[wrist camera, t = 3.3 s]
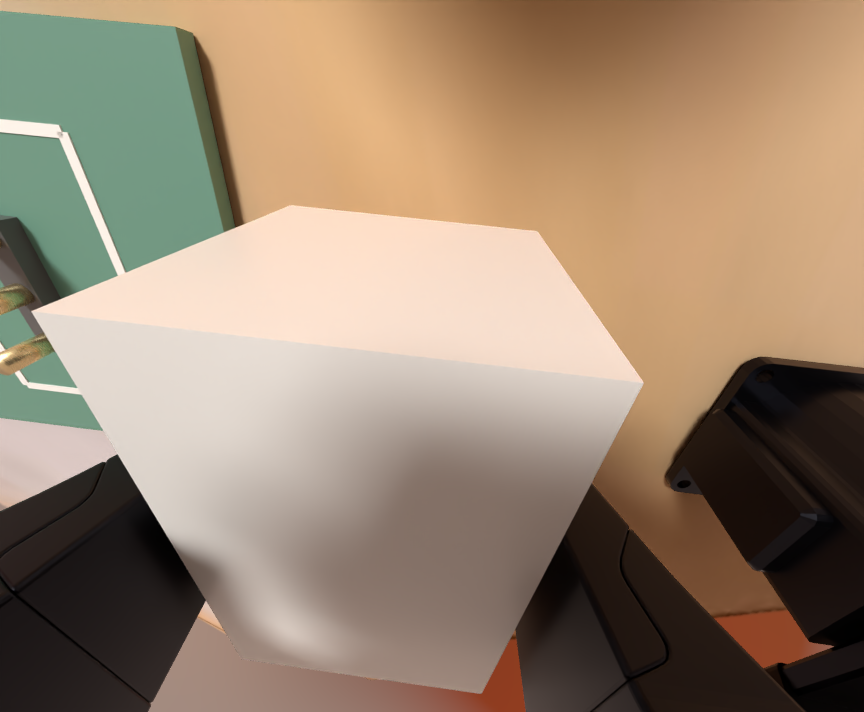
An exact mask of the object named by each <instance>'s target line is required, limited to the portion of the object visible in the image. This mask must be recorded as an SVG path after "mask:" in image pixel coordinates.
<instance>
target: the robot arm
mask: <svg viewBox="0 0 864 712" xmlns="http://www.w3.org/2000/svg"><path fill="white" fill-rule="evenodd" d="M762 371H763V372H762ZM760 372H762V373H760ZM759 373H760V374H759ZM666 480H667V482H668V484H669V485H670V487H671V489H673V490H674V491H677V492H684V493H692V494H700V495H703V496H704V497H705V499H706V500H707V502H708V503H709V505H710V506H711V508H712V510H713V511H714V513H715V514H716V516H717V517H718V519H719V520H720V522H721V523H722V525H723V526H724V528H725V530H726V531H727V533H728V534H729V536H730V537H731V539H732V540H733V542H734V543H735V545H736V547H737V548H738V550H739V551H740V553H741V554H742V556H743V557H744V559H745V560H746V562H747V563H748V565H749V566H750V567H751V568H752V569H754V570H756V571H761V572H763V573H764V575H765V576H766V578H767V579H768V581H769V582H770V584H771V585H772V587H773V588H774V590H775V591H776V593H777V594H778V596H779V597H780V599H781V600H782V602H783V603H784V605H785V606H786V608H787V609H788V611H789V612H790V614H791V615H792V617H793V618H794V620H795V621H796V623H797V624H798V626H799V627H800V628H801V630H802V632H803V633H804V635H805V636H806V638H807V639H808V641H809V642H812V643H818V644H826V645H832V646H834V647H832V648H830V649H827V650H825V651H822V652H819V653H816V654H814V655H811V656H809V657H806V658H803V659H800V660H798V661H795V662H792V663H790V664H784V663H776V664H774V665H771V666H768V667H766V668H764V669H763V668H762V667H761V666H760V665H759V664H758V663H757V662H756V661H755V660H754V659H753V658H752V657H751V656H750V655H749V654H748V653H747V652H746V651H745V650H744V649H743V648H742V647H741V646H740V645H739V644H738V643H737V642H736V641H735V640H734V638H733V637H732V636H731V635H729V633H728V632H727V631H726V630H724V628H723V627H722V626H721V625H720V624H719V623H718V622H717V621H716V620H715V619H714V618H713V617H712V616H711V615H710V614H709V613H708V612H707V611H706V610H705V609H704V608H703V607H702V606H701V605H700V604H699V603H698V602H697V601H696V600H695V599H694V598H693V597H692V596H691V595H690V593H689V592H688V591H687V590H686V589H685V588H684V587H683V586H682V585H681V584H680V583H679V582H678V581H677V580H676V579H675V578H674V577H673V576H672V575H671V573H670V572H669V571H668V570H667V569H666V568H665V567H664V566H663V564H662V563H661V562H660V561H659V560H658V559H657V558H656V557H655V556H654V554H653V553H652V552H651V551H650V550H649V549H648V548H647V547H646V545H645V544H644V543H643V542H642V541H641V540H640V538H639V537H638V536H637V535H636V534H635V533H634V531H633V530H628V529H629V526H628V525H627V524H626V522H625V521H624V520H623V519H622V518H621V517H620V515H619V514H618V513H617V512H616V511H615V510H614V508H613V507H612V506H611V505H610V504H609V503H608V501H607V500H606V499H605V498H604V497H603V496H602V494H601V493H600V492H599V491H598V490H597V489H596V487H595V486H594V485H593V484H592V483H591V485H590V487H589V489H588V491H587V493H586V495H585V496H584V498H583V500H582V502H581V504H580V506H579V508H578V510H577V512H576V514H575V516H574V518H573V519H572V521H571V523H570V525H569V527H568V529H567V531H566V533H565V535H564V537H563V539H562V540H561V542H560V544H559V546H558V548H557V550H556V552H555V554H554V556H553V558H552V560H551V562H550V563H549V565H548V567H547V569H546V571H545V573H544V575H543V577H542V579H541V581H540V583H539V585H538V586H537V588H536V590H535V592H534V594H533V596H532V598H531V600H530V602H529V604H528V606H527V608H526V609H525V611H524V613H523V615H522V617H521V619H520V621H519V623H518V625H517V627H516V629H515V630H516V638H517V645H518V653H519V661H520V669H521V676H522V685H523V692H524V700H525V708H526V712H864V368H859V367H851V366H842V365H833V364H824V363H815V362H807V361H798V360H789V359H780V358H771V357H757V358H754V359H751V360H750V361H748V362H746V363H745V364H744V365H743V366H742V367H741V368H740V370H739V371H738V373H737V374H736V376H735V377H734V378H733V380H732V381H731V383H730V384H729V386H728V387H727V388H726V390H725V391H724V393H723V394H722V396H721V397H720V399H719V400H718V401H717V403H716V404H715V406H714V407H713V409H712V410H711V412H710V413H709V414H708V416H707V417H706V419H705V420H704V422H703V423H702V425H701V426H700V427H699V429H698V430H697V432H696V433H695V435H694V436H693V438H692V439H691V440H690V442H689V443H688V445H687V446H686V448H685V449H684V451H683V452H682V453H681V455H680V456H679V458H678V459H677V461H676V462H675V464H674V465H673V466H672V468H671V469H670V471H669V472H668V474H667V476H666ZM205 601H206V600H205V598H204V596H203V595H202V593H201V591H200V590H199V588H198V586H197V585H196V583H195V581H194V580H193V578H192V576H191V575H190V573H189V571H188V570H187V568H186V566H185V565H184V563H183V561H182V560H181V558H180V557H179V555H178V553H177V552H176V550H175V548H174V547H173V545H172V543H171V542H170V540H169V538H168V537H167V535H166V533H165V532H164V530H163V528H162V527H161V525H160V523H159V522H158V520H157V519H156V517H155V515H154V514H153V512H152V510H151V509H150V507H149V505H148V504H147V502H146V500H145V499H144V497H143V495H142V494H141V492H140V490H139V489H138V487H137V485H136V484H135V482H134V480H133V479H132V477H131V476H130V474H129V472H128V471H127V469H126V467H125V466H124V464H123V462H122V461H121V459H120V457H119V456H118V454H117V455H115V456H113V457H111V458H109V459H108V460H107V462H101V463H99V464H97V465H95V466H93V467H92V468H90V469H88V470H86V471H84V472H82V473H80V474H78V475H76V476H74V477H72V478H70V479H68V480H65V481H63V482H61V483H59V484H57V485H55V486H53V487H51V488H49V489H47V490H45V491H43V492H41V493H39V494H37V495H35V496H32V497H30V498H28V499H26V500H24V501H22V502H19V503H17V504H15V505H13V506H11V507H9V508H6V509H4V510H2V511H0V712H148V711H149V709H150V707H151V702H153V700H154V698H155V697H156V695H157V693H158V691H159V689H160V687H161V685H162V683H163V681H164V679H165V677H166V676H167V674H168V672H169V670H170V668H171V666H172V664H173V662H174V660H175V658H176V656H177V655H178V653H179V651H180V649H181V647H182V645H183V643H184V641H185V639H186V637H187V635H188V634H189V632H190V630H191V628H192V626H193V624H194V622H195V620H196V618H197V616H198V614H199V613H200V611H201V609H202V607H203V605H204V603H205Z"/></svg>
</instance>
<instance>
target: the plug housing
mask: <svg viewBox="0 0 864 712" xmlns="http://www.w3.org/2000/svg"><path fill="white" fill-rule="evenodd" d="M31 312H32V314H33V315H34V317H35V318H36V320H37V322H38V323H39V325H40V327H41V328H42V330H43V332H44V333H45V335H46V337H47V338H48V340H49V342H50V343H51V345H52V347H53V348H54V350H55V352H56V353H57V355H58V356H59V358H60V360H61V361H62V363H63V365H64V366H65V368H66V370H67V371H68V373H69V375H70V376H71V378H72V380H73V381H74V383H75V385H76V386H77V388H78V390H79V391H80V393H81V395H82V396H83V398H84V399H85V401H86V403H87V404H88V406H89V408H90V409H91V411H92V413H93V414H94V416H95V418H96V419H97V421H98V423H99V424H100V426H101V428H102V429H103V431H104V433H105V434H106V436H107V437H108V439H109V441H110V442H111V444H112V446H113V447H114V449H115V451H116V452H117V454H118V456H119V457H120V459H121V461H122V462H123V464H124V466H125V467H126V469H127V471H128V472H129V474H130V476H131V477H132V479H133V480H134V482H135V484H136V485H137V487H138V489H139V490H140V492H141V494H142V495H143V497H144V499H145V500H146V502H147V504H148V505H149V507H150V509H151V510H152V512H153V514H154V515H155V517H156V519H157V520H158V522H159V523H160V525H161V527H162V528H163V530H164V532H165V533H166V535H167V537H168V538H169V540H170V542H171V543H172V545H173V547H174V548H175V550H176V552H177V553H178V555H179V557H180V558H181V560H182V561H183V563H184V565H185V566H186V568H187V570H188V571H189V573H190V575H191V576H192V578H193V580H194V581H195V583H196V585H197V586H198V588H199V590H200V591H201V593H202V595H203V596H204V598H205V600H206V601H207V603H208V604H209V606H210V608H211V609H212V611H213V613H214V614H215V616H216V618H217V619H218V621H219V623H220V624H221V626H222V628H223V629H224V631H225V633H226V634H227V636H228V637H229V639H230V641H231V642H232V644H233V645H234V647H235V649H236V651H237V652H238V654H239V656H240V657H241V659H243V660H250V661H258V662H264V663H271V664H278V665H285V666H292V667H298V668H305V669H312V670H319V671H326V672H333V673H340V674H347V675H355V676H361V677H365V678H366V679H369V680H377V679H382V680H389V681H395V682H402V683H409V684H416V685H424V686H430V687H438V688H444V689H451V690H458V691H465V692H472V693H479V694H481V693H482V692H483V690H484V688H485V686H486V684H487V682H488V680H489V678H490V676H491V674H492V673H493V671H494V668H495V667H496V665H497V663H498V661H499V659H500V657H501V655H502V653H503V651H504V650H505V648H506V646H507V644H508V642H509V640H510V638H511V636H512V634H513V632H514V631H515V629H516V627H517V625H518V623H519V621H520V619H521V617H522V615H523V613H524V611H525V609H526V608H527V606H528V604H529V602H530V600H531V598H532V596H533V594H534V592H535V590H536V588H537V586H538V585H539V583H540V581H541V579H542V577H543V575H544V573H545V571H546V569H547V567H548V565H549V563H550V562H551V560H552V558H553V556H554V554H555V552H556V550H557V548H558V546H559V544H560V542H561V540H562V539H563V537H564V535H565V533H566V531H567V529H568V527H569V525H570V523H571V521H572V519H573V518H574V516H575V514H576V512H577V510H578V508H579V506H580V504H581V502H582V500H583V498H584V496H585V495H586V493H587V491H588V489H589V487H590V485H591V483H592V481H593V479H594V477H595V475H596V473H597V472H598V470H599V468H600V466H601V464H602V462H603V460H604V458H605V456H606V454H607V452H608V450H609V449H610V447H611V445H612V443H613V441H614V439H615V437H616V435H617V433H618V431H619V429H620V427H621V426H622V424H623V422H624V420H625V418H626V416H627V414H628V412H629V410H630V408H631V406H632V405H633V403H634V401H635V399H636V397H637V395H638V393H639V391H640V389H641V387H642V385H643V383H644V382H643V381H642V380H641V378H640V377H639V375H638V374H637V372H636V371H635V370H634V368H633V367H632V365H631V364H630V362H629V361H628V360H627V358H626V357H625V355H624V354H623V352H622V351H621V350H620V348H619V347H618V345H617V344H616V343H615V341H614V340H613V338H612V337H611V335H610V334H609V333H608V331H607V330H606V328H605V327H604V325H603V324H602V323H601V321H600V320H599V318H598V317H597V315H596V314H595V313H594V311H593V310H592V308H591V307H590V306H589V304H588V303H587V301H586V300H585V298H584V297H583V296H582V294H581V293H580V291H579V290H578V288H577V287H576V286H575V284H574V283H573V281H572V280H571V278H570V277H569V276H568V274H567V273H566V271H565V270H564V269H563V267H562V266H561V264H560V263H559V261H558V260H557V259H556V257H555V256H554V254H553V253H552V251H551V250H550V249H549V247H548V246H547V244H546V243H545V241H544V240H543V239H542V237H541V236H540V234H539V233H538V231H531V230H521V229H512V228H502V227H493V226H483V225H474V224H464V223H455V222H445V221H436V220H426V219H417V218H407V217H398V216H388V215H379V214H369V213H360V212H350V211H341V210H331V209H322V208H312V207H303V206H293V205H290V206H288V207H285V208H283V209H280V210H278V211H275V212H273V213H270V214H268V215H266V216H263V217H261V218H258V219H256V220H253V221H251V222H248V223H246V224H244V225H241V226H239V227H236V228H234V229H231V230H229V231H226V232H224V233H221V234H219V235H217V236H214V237H212V238H209V239H207V240H204V241H202V242H199V243H197V244H195V245H192V246H190V247H187V248H185V249H182V250H180V251H177V252H175V253H173V254H170V255H168V256H165V257H163V258H160V259H158V260H155V261H153V262H151V263H148V264H146V265H143V266H141V267H138V268H136V269H133V270H131V271H129V272H126V273H124V274H121V275H119V276H116V277H114V278H111V279H109V280H107V281H104V282H102V283H99V284H97V285H94V286H92V287H89V288H87V289H84V290H82V291H80V292H77V293H75V294H72V295H70V296H67V297H65V298H62V299H60V300H58V301H55V302H53V303H50V304H48V305H45V306H43V307H40V308H38V309H36V310H33V311H31Z"/></svg>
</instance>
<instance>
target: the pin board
mask: <svg viewBox="0 0 864 712" xmlns="http://www.w3.org/2000/svg"><path fill="white" fill-rule="evenodd" d="M234 228H235V224H234V219H233V215H232V210H231V205H230V201H229V196H228V192H227V187H226V183H225V178H224V173H223V169H222V164H221V160H220V155H219V151H218V146H217V142H216V137H215V132H214V128H213V123H212V119H211V114H210V110H209V105H208V100H207V96H206V91H205V87H204V82H203V78H202V73H201V69H200V64H199V59H198V55H197V50H196V46H195V41H194V37H193V33H191V32H188V31H185V30H183V29H180V28H177V27H172V26H161V25H150V24H139V23H128V22H117V21H106V20H95V19H84V18H73V17H61V16H50V15H39V14H28V13H17V12H6V11H0V418H6V419H14V420H22V421H30V422H38V423H45V424H53V425H61V426H69V427H77V428H85V429H93V430H101V431H103V429H102V428H101V426H100V424H99V423H98V421H97V419H96V418H95V416H94V414H93V413H92V411H91V409H90V408H89V406H88V404H87V403H86V401H85V399H84V398H83V396H82V395H81V393H80V391H79V390H78V388H77V386H76V385H75V383H74V381H73V380H72V378H71V376H70V375H69V373H68V371H67V370H66V368H65V366H64V365H63V363H62V361H61V360H60V358H59V356H58V355H57V353H56V352H55V350H54V348H53V347H52V345H51V343H50V342H49V340H48V338H47V337H46V335H45V333H44V332H43V330H42V328H41V327H40V325H39V323H38V322H37V320H36V318H35V317H34V315H33V314H32V312H31V311H33V310H36V309H38V308H40V307H43V306H45V305H48V304H50V303H53V302H55V301H58V300H60V299H62V298H65V297H67V296H70V295H72V294H75V293H77V292H80V291H82V290H84V289H87V288H89V287H92V286H94V285H97V284H99V283H102V282H104V281H107V280H109V279H111V278H114V277H116V276H119V275H121V274H124V273H126V272H129V271H131V270H133V269H136V268H138V267H141V266H143V265H146V264H148V263H151V262H153V261H155V260H158V259H160V258H163V257H165V256H168V255H170V254H173V253H175V252H177V251H180V250H182V249H185V248H187V247H190V246H192V245H195V244H197V243H199V242H202V241H204V240H207V239H209V238H212V237H214V236H217V235H219V234H221V233H224V232H226V231H229V230H231V229H234Z"/></svg>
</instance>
